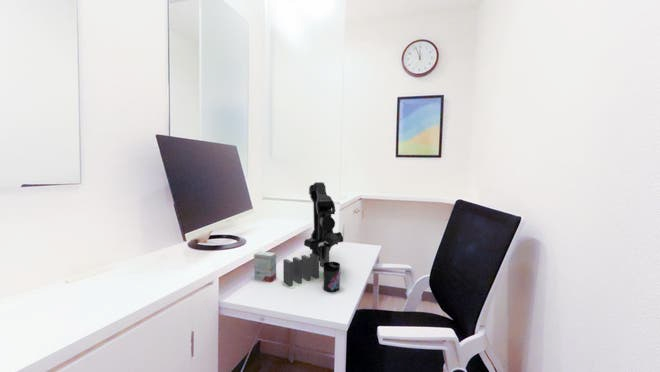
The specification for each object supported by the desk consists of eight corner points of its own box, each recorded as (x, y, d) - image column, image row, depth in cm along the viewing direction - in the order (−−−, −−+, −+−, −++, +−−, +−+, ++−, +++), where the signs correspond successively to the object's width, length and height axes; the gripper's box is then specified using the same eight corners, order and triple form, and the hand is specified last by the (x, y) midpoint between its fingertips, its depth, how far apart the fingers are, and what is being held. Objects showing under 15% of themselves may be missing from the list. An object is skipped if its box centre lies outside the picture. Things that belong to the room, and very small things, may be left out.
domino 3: (301, 277, 127) (301, 255, 126) (304, 276, 128) (304, 255, 127) (307, 281, 123) (307, 258, 122) (310, 280, 124) (310, 257, 123)
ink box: (276, 278, 126) (276, 252, 125) (271, 283, 122) (271, 256, 121) (260, 276, 129) (259, 250, 128) (253, 280, 125) (253, 253, 124)
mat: (280, 281, 123) (280, 281, 123) (325, 269, 138) (325, 269, 138) (291, 289, 116) (291, 288, 116) (336, 275, 131) (337, 274, 131)
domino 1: (283, 282, 121) (283, 259, 121) (286, 281, 122) (286, 258, 122) (289, 286, 117) (289, 262, 117) (292, 285, 118) (292, 262, 118)
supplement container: (324, 293, 112) (324, 267, 111) (322, 286, 119) (322, 261, 118) (341, 292, 113) (341, 266, 112) (338, 285, 120) (338, 261, 119)
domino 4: (309, 275, 130) (309, 253, 129) (312, 274, 131) (312, 253, 130) (316, 278, 126) (316, 256, 125) (319, 277, 127) (319, 255, 126)
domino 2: (292, 280, 124) (292, 257, 123) (295, 279, 125) (295, 256, 124) (298, 283, 120) (298, 260, 120) (301, 283, 121) (302, 259, 121)
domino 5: (319, 266, 133) (319, 245, 132) (322, 265, 134) (322, 244, 133) (326, 269, 129) (326, 247, 128) (329, 268, 130) (329, 247, 129)
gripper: (318, 231, 118) (318, 268, 119) (351, 225, 130) (350, 259, 131) (303, 226, 127) (303, 261, 128) (335, 222, 138) (335, 253, 139)
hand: (324, 258), depth 131 cm, fingers closed on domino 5, 2 cm apart
